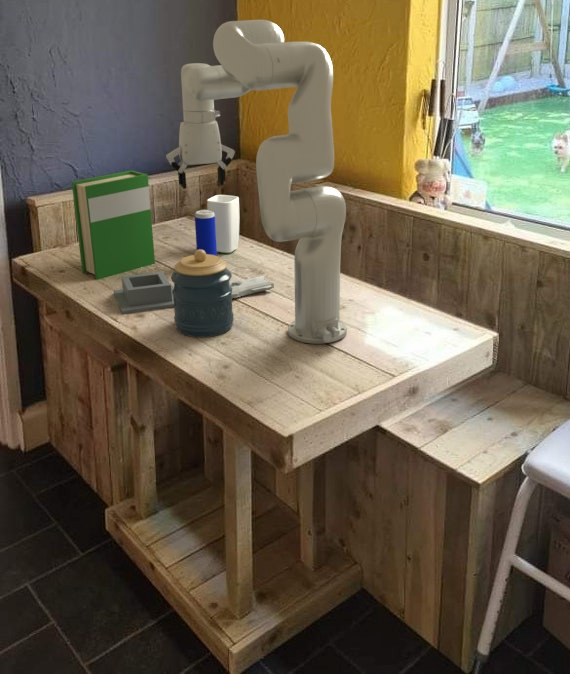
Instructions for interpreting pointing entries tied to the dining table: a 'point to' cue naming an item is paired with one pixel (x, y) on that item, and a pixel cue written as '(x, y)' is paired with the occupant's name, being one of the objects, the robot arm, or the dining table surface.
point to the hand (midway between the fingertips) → (202, 185)
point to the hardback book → (114, 223)
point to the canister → (202, 295)
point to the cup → (225, 221)
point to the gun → (249, 286)
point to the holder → (144, 293)
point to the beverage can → (206, 231)
